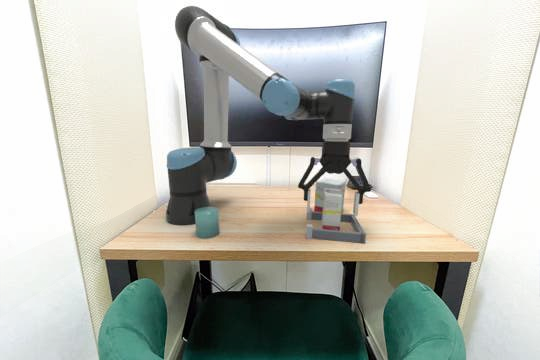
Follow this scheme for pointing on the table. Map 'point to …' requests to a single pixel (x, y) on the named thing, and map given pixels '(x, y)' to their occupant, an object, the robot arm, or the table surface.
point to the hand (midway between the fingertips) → (331, 212)
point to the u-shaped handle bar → (335, 235)
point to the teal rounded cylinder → (207, 222)
